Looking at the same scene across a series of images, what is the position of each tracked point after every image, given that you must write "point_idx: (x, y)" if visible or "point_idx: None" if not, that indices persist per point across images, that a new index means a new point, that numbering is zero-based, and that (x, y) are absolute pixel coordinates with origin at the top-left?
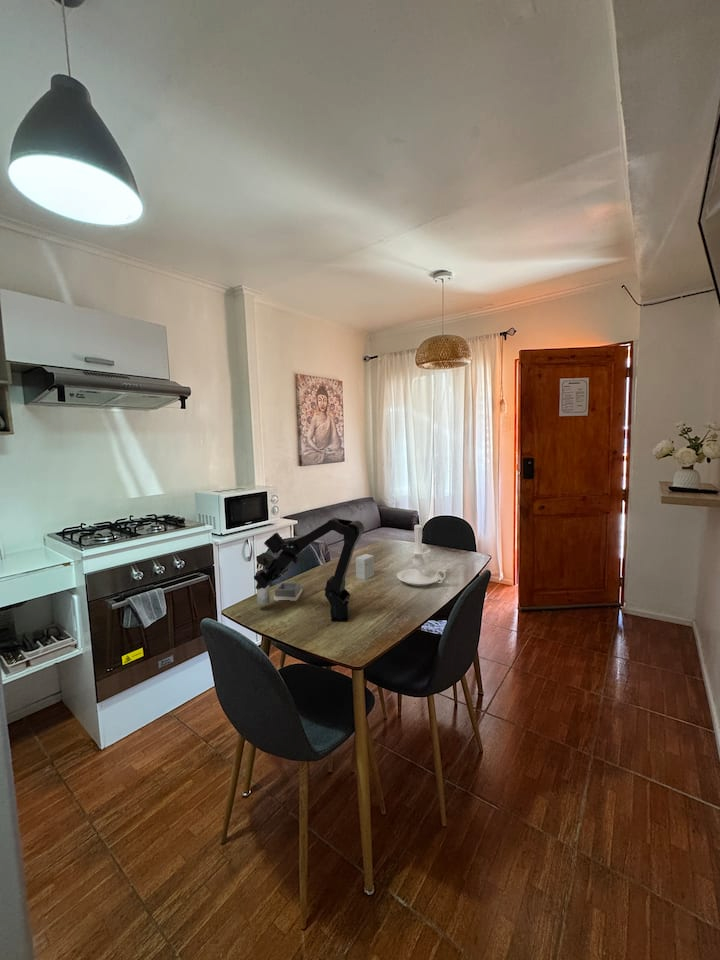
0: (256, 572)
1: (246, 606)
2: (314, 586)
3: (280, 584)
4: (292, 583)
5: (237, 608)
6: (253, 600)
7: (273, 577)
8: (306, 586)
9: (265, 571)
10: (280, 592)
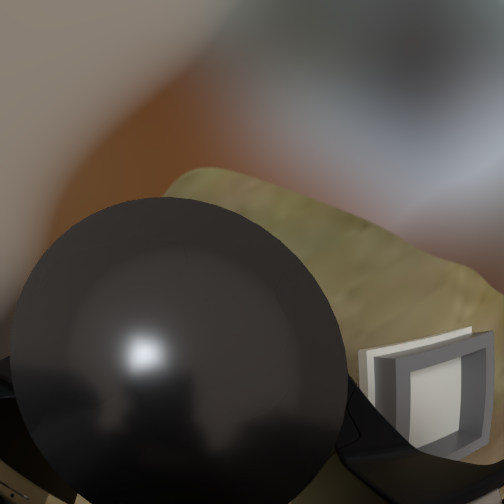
0: (157, 203)
1: (254, 220)
2: (496, 446)
3: (472, 344)
4: (484, 408)
5: (224, 184)
6: (337, 226)
7: (301, 501)
8: (500, 415)
9: (260, 456)
10: (388, 397)
